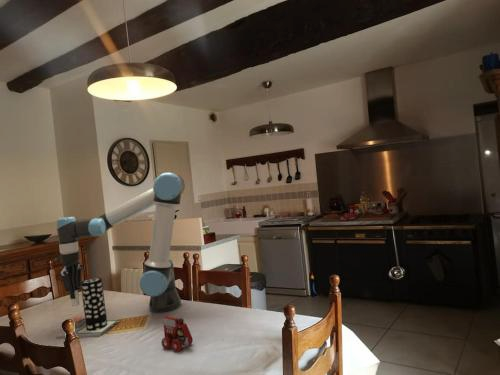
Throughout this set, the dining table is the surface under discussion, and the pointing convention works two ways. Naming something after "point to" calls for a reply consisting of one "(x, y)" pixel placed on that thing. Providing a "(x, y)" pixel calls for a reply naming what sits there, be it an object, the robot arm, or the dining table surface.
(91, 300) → the white-spotted black cylinder
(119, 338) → the dining table surface
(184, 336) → the toy fire truck
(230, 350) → the dining table surface
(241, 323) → the dining table surface
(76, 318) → the button
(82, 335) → the picture board
